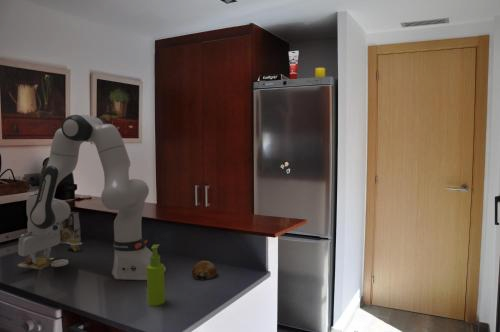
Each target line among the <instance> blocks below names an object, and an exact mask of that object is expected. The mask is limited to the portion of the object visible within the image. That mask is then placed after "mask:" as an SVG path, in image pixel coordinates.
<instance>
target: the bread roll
mask: <svg viewBox="0 0 500 332" xmlns="http://www.w3.org/2000/svg"><path fill="white" fill-rule="evenodd" d="M216 275H217V267H216V266H215V265H214V263H213V262H211V261H209V260H200V261H199V262H197V263H196V264H195V265H194V266H193V268H192V272H191V276H192V277H193V278H194V279H195V280H200V281H204V280H211V279H213V278H215V276H216Z"/></svg>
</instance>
